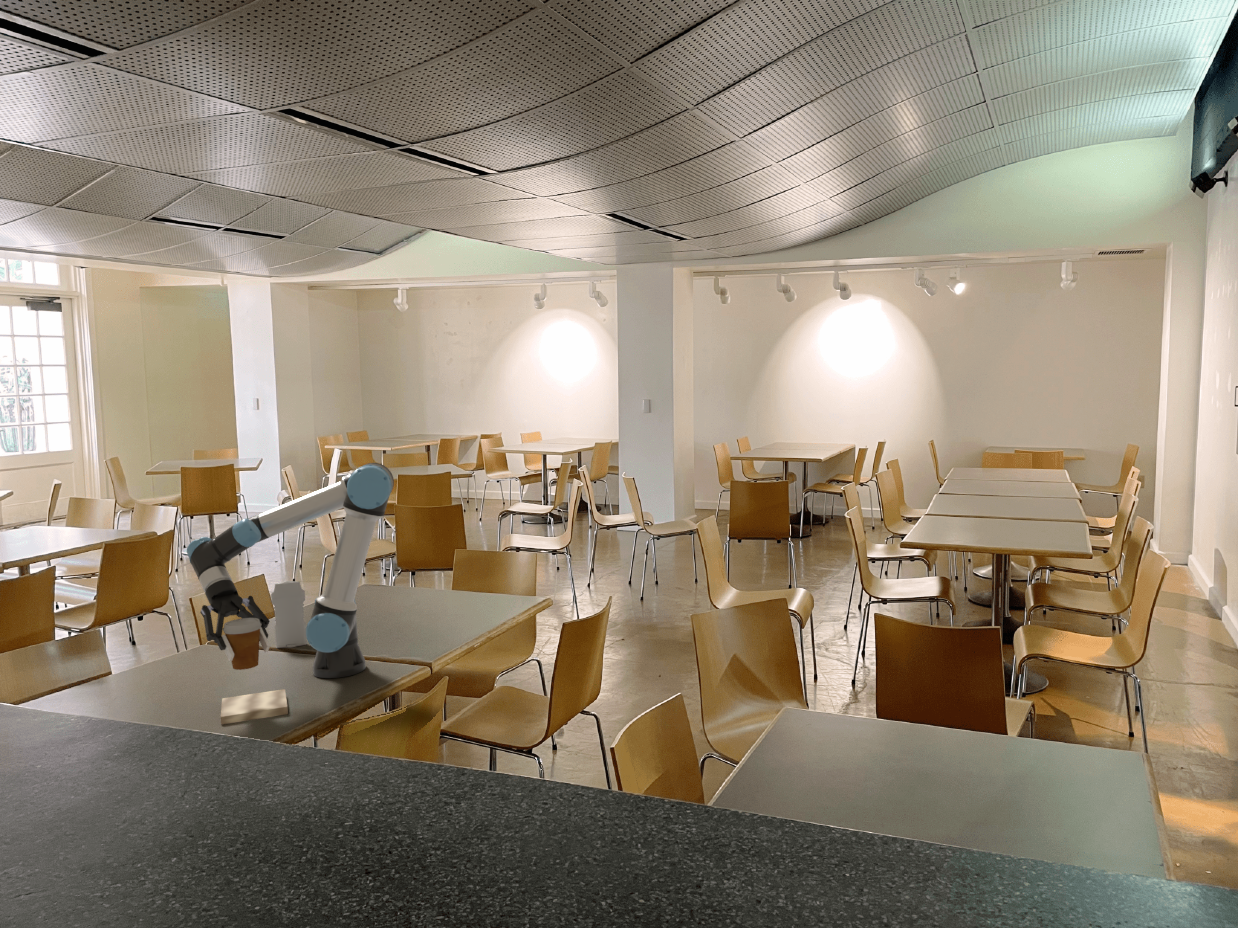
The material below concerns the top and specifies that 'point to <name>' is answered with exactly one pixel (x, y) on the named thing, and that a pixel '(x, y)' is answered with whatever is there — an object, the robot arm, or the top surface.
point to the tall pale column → (289, 614)
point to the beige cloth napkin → (253, 706)
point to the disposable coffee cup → (244, 641)
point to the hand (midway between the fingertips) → (250, 653)
